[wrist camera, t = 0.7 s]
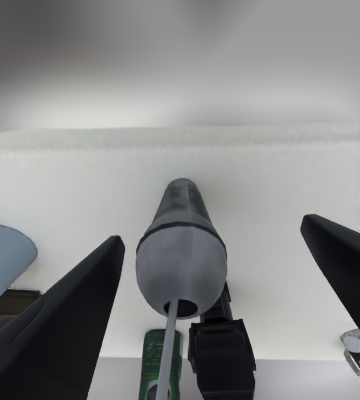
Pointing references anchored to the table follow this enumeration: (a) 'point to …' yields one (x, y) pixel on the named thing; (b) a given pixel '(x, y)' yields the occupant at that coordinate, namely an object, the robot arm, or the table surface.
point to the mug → (352, 348)
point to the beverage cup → (180, 264)
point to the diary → (15, 304)
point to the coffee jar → (153, 363)
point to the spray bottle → (14, 255)
